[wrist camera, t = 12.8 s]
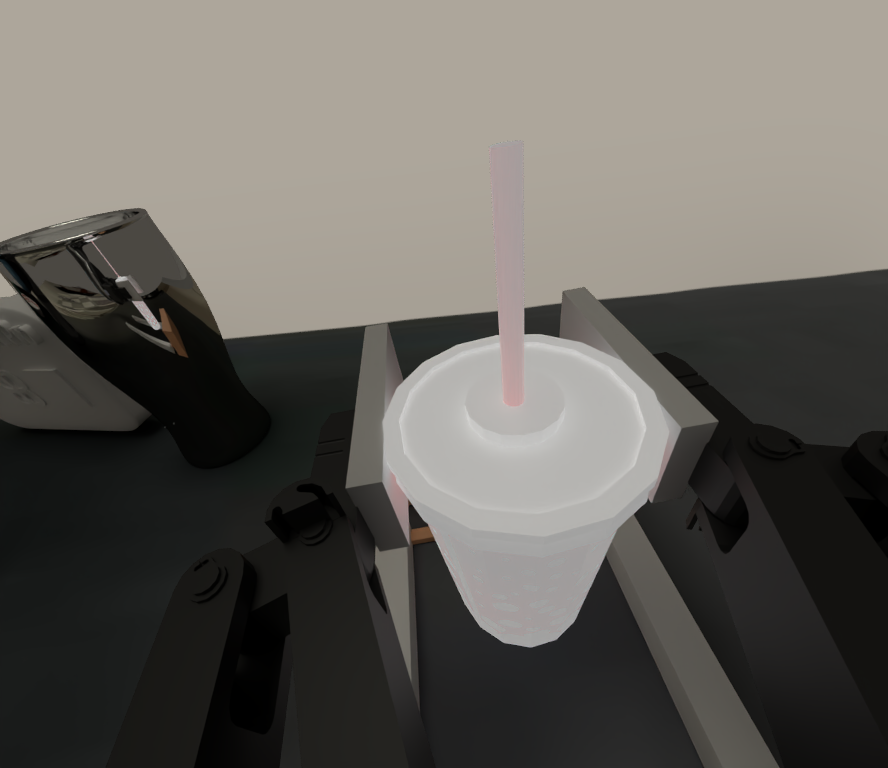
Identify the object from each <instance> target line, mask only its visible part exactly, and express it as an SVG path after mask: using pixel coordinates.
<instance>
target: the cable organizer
mask: <svg viewBox="0 0 888 768" xmlns="http://www.w3.org/2000/svg"><path fill="white" fill-rule="evenodd" d="M151 415H152V414H151V413H150V412H148V411H147V410H146V409H144V408H143V407H142V406H140V405H139V404H138V403H136V402H135V401H133V400H132V399H131V398H129V397H128V396H126V395H125V394H124V393H122V392H121V391H119V390H118V389H117V388H115V387H114V386H113V385H111V384H110V383H109V382H107V381H106V380H104V379H103V378H102V377H100V376H99V375H98V374H97V373H95V372H94V371H93V370H92V369H90V368H89V367H88V366H87V365H85V364H84V363H83V362H82V361H81V360H79V359H78V358H77V357H76V356H75V355H74V354H73V353H72V352H71V351H69V350H68V349H67V348H66V347H65V346H64V345H63V344H62V343H61V342H60V341H59V340H58V339H57V338H56V337H55V336H54V335H53V334H52V333H51V332H50V331H49V330H48V328H47V327H46V326H45V325H44V324H43V323H42V322H41V321H40V320H39V319H38V317H37V316H36V315H35V314H34V313H33V312H32V311H31V309H30V308H29V307H28V306H27V305H26V304H25V302H24V301H23V300H22V299H21V298H20V296H19V295H18V294H16V295H13V296H11V297H2V298H0V419H2V420H4V421H6V422H8V423H11V424H13V425H16V426H19V427H24V428H31V429H66V430H101V431H132V430H135V429H136V428H138V427H139V426H140V425H141V424H142V423H143V422H144V421H145V420H146V419H147V418H148V417H149V416H151Z"/></svg>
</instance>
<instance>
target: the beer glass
mask: <svg viewBox="0 0 888 768" xmlns="http://www.w3.org/2000/svg"><path fill="white" fill-rule="evenodd" d="M0 273H1V274H2V275H3V277H4V278H5V279H6V280H7V281H8V283H9V284H10V285H11V286H12V288H13V289H14V290H15V292H17V294H18V295H19V296H20V298H21V299H22V300H23V301H24V302H25V304H26V305H27V306H28V307H29V308H30V309H31V311H32V312H33V313H34V314H35V315H36V316H37V317H38V319H39V320H40V321H41V322H42V323H43V324H44V325H45V326H46V327H47V328H48V330H49V331H50V332H51V333H52V334H53V335H54V336H55V337H56V338H57V339H58V340H59V341H60V342H61V343H62V344H63V345H64V346H65V347H66V348H67V349H68V350H69V351H71V352H72V353H73V354H74V355H75V356H76V357H77V358H78V359H79V360H81V361H82V362H83V363H84V364H85V365H87V366H88V367H89V368H90V369H92V370H93V371H94V372H95V373H97V374H98V375H99V376H100V377H102V378H103V379H104V380H106V381H107V382H109V383H110V384H111V385H113V386H114V387H115V388H117V389H118V390H119V391H121V392H122V393H124V394H125V395H126V396H128V397H129V398H131V399H132V400H133V401H135V402H136V403H138V404H139V405H140V406H142V407H143V408H144V409H146V410H147V411H148V412H150V413H151V414H152V415H153V416H155V417H156V418H157V419H158V420H159V421H160V422H161V423H162V424H163V425H164V426H165V427H164V428H166V429H167V430H168V431H169V432H170V434H171V435H172V437H173V438H174V440H175V442H176V444H177V446H178V447H179V449H180V451H181V453H182V455H183V456H184V458H185V459H186V460H187V462H188V463H190V464H191V465H193V466H195V467H199V468H211V467H217V466H221V465H224V464H227V463H230V462H232V461H234V460H236V459H238V458H240V457H242V456H243V455H245V454H246V453H248V452H249V451H250V450H252V449H253V448H254V447H255V446H256V445H257V444H258V443H259V442H260V441H261V440H262V439H263V437H264V436H265V435H266V433H267V431H268V429H269V426H270V415H269V413H268V412H267V410H266V409H265V408H264V407H263V406H262V405H261V404H260V403H259V402H258V401H257V400H256V399H255V398H254V397H253V396H252V395H251V394H250V393H249V391H248V390H247V389H246V388H245V386H244V385H243V383H242V382H241V380H240V379H239V377H238V375H237V373H236V371H235V369H234V366H233V364H232V362H231V359H230V357H229V354H228V351H227V349H226V346H225V343H224V341H223V338H222V336H221V333H220V331H219V328H218V326H217V323H216V321H215V319H214V316H213V315H212V312H211V310H210V308H209V306H208V304H207V301H206V300H205V298H204V296H203V294H202V293H201V291H200V289H199V288H198V286H197V284H196V282H195V281H194V279H193V278H192V276H191V275H190V273H189V272H188V270H187V269H186V267H185V265H184V264H183V262H182V261H181V260H180V258H179V257H178V255H177V254H176V253H175V251H174V250H173V248H172V247H171V246H170V244H169V243H168V241H167V240H166V239H165V238H164V236H163V235H162V233H161V232H160V231H159V229H158V228H157V226H156V225H155V224H154V222H153V221H152V219H151V218H150V216H149V215H148V213H147V211H146V210H145V209H141V208H137V209H136V208H135V209H126V210H119V211H113V212H108V213H102V214H97V215H93V216H88V217H84V218H80V219H76V220H72V221H68V222H64V223H60V224H56V225H52V226H49V227H45V228H42V229H39V230H35V231H32V232H29V233H26V234H22V235H20V236H16V237H13V238H10V239H8V240H5V241H2V242H0Z"/></svg>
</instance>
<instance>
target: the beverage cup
mask: <svg viewBox="0 0 888 768" xmlns="http://www.w3.org/2000/svg"><path fill="white" fill-rule="evenodd" d="M489 155H490V174H491V192H492V209H493V227H494V245H495V264H496V282H497V300H498V318H499V335H496V336H492V337H488V338H483V339H479V340H475V341H471V342H467V343H463V344H458V345H456V346H454V347H452V348H450V349H448V350H446V351H444V352H442V353H440V354H439V355H437V356H435V357H433V358H431V359H429V360H427V361H425V362H423V363H422V364H421V365H420V366H419V367H418V368H417V369H416V370H415V371H414V372H413V373H412V374H411V375H410V376H409V377H408V378H407V379H406V380H404V381H403V382H402V383H401V384H400V385H399V386H398V387H397V389H396V391H395V393H394V395H393V398H392V400H391V402H390V405H389V407H388V409H387V412H386V414H385V416H384V419H383V421H382V423H383V432H384V442H385V452H386V461H387V463H388V466H389V468H390V470H391V471H392V473H393V474H394V475H395V477H396V483H397V484H398V485H399V487H400V488H401V490H402V491H403V492H404V494H405V495H406V497H407V498H408V499H409V501H410V502H411V503H412V505H413V506H414V508H415V509H416V510H417V512H418V513H419V515H420V516H421V517H422V519H423V520H424V521H425V522H427V523H428V525H429V527H430V530H431V532H432V534H433V536H434V538H435V540H436V543H437V545H438V547H439V549H440V551H441V553H442V555H443V558H444V560H445V562H446V564H447V566H448V568H449V571H450V573H451V575H452V577H453V579H454V581H455V583H456V586H457V588H458V590H459V592H460V594H461V596H462V599H463V601H464V603H465V605H466V606H467V608H468V609H469V611H470V612H471V614H472V615H473V617H474V618H475V620H476V621H477V623H478V624H479V626H480V627H481V628H483V629H484V630H486V631H487V632H489V633H490V634H492V635H493V636H494V637H496V638H497V639H499V640H500V641H502V642H503V643H508V644H514V645H520V646H526V647H534V646H537V645H540V644H544V643H547V642H550V641H553V640H556V639H557V638H558V637H559V636H560V635H561V634H562V633H563V632H564V631H565V630H566V629H567V628H568V627H569V626H570V625H571V624H572V623H573V622H574V621H575V619H576V617H577V615H578V613H579V610H580V608H581V606H582V604H583V602H584V600H585V598H586V595H587V593H588V591H589V589H590V587H591V585H592V583H593V580H594V578H595V576H596V574H597V572H598V570H599V568H600V565H601V563H602V561H603V559H604V557H605V555H606V553H607V550H608V548H609V546H610V544H611V542H612V540H613V538H614V535H615V533H616V531H617V529H618V528H619V527H620V526H621V525H622V524H623V523H624V522H625V521H626V520H627V519H628V518H629V517H631V516H632V515H633V514H634V513H635V512H636V511H637V510H638V509H639V508H640V507H641V506H642V505H644V504H645V503H646V502H647V498H648V495H649V491H650V490H651V489H652V488H653V487H654V486H655V484H656V481H657V479H658V475H659V471H660V467H661V463H662V459H663V455H664V451H665V447H666V443H667V439H668V435H669V429H668V427H667V424H666V421H665V419H664V416H663V413H662V411H661V408H660V405H659V403H658V400H657V397H656V395H655V392H654V391H653V390H652V389H651V388H650V387H649V386H648V385H647V384H646V383H645V382H644V381H643V380H642V379H641V378H640V377H639V376H637V375H636V374H635V373H634V372H633V371H632V370H631V369H630V368H629V367H628V366H627V365H626V364H625V363H624V362H623V361H621V360H619V359H617V358H614V357H612V356H610V355H608V354H606V353H604V352H601V351H599V350H597V349H595V348H593V347H591V346H589V345H586V344H584V343H582V342H577V341H572V340H567V339H562V338H556V337H551V336H546V335H541V334H527V335H524V204H523V141H509V142H503V143H497V144H494V145H491V146H489Z"/></svg>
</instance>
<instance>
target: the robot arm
mask: <svg viewBox="0 0 888 768" xmlns="http://www.w3.org/2000/svg"><path fill="white" fill-rule="evenodd" d="M559 338H562V339H567V340H572V341H577V342H582V343H584V344H586V345H589V346H591V347H593V348H595V349H597V350H599V351H601V352H604V353H606V354H608V355H610V356H612V357H614V358H617V359H619V360H621V361H623V362H624V363H625V364H626V365H627V366H628V367H629V368H630V369H631V370H632V371H633V372H634V373H635V374H636V375H637V376H639V377H640V378H641V379H642V380H643V381H644V382H645V383H646V384H647V385H648V386H649V387H650V388H651V389H652V390H653V391H654V392H655V395H656V397H657V400H658V403H659V405H660V408H661V411H662V413H663V416H664V419H665V421H666V424H667V427H668V429H669V435H668V439H667V443H666V447H665V451H664V455H663V459H662V463H661V467H660V471H659V475H658V479H657V481H656V484H655V486H654V487H653V488H652V489H651V490H650V491H649V495H648V499H649V500H650V502H651V503H656V502H662V501H667V500H673V499H679V498H682V496H683V494H684V492H685V490H686V488H687V486H688V484H689V485H690V486H691V487H692V489H693V490H694V491H695V493H696V494H697V495H698V499H697V501H696V503H695V505H694V506H693V508H692V510H691V512H690V514H689V516H688V518H687V519H686V529H691V530H692V528H693V526H694V525H695V523H696V521H697V519H698V521H699V524H700V526H699V530H700V531H702V532H703V535H704V538H705V541H706V544H707V547H708V549H709V552H710V555H711V558H712V561H713V564H714V567H715V569H716V572H717V575H718V578H719V581H720V584H721V587H722V589H723V592H724V595H725V598H726V601H727V604H728V607H729V609H730V612H731V615H732V618H733V621H734V624H735V627H736V630H737V632H738V635H739V638H740V641H741V644H742V647H743V650H744V652H745V655H746V658H747V661H748V664H749V667H750V670H751V672H752V675H753V678H754V681H755V684H756V687H757V690H758V692H759V695H760V698H761V701H762V704H763V707H764V710H765V712H766V715H767V718H768V721H769V724H770V727H771V730H772V733H773V735H774V738H775V741H776V744H777V747H778V750H779V753H780V755H781V758H782V761H783V764H784V767H785V768H888V431H871V432H867V433H864V434H861V435H860V436H859V437H858V438H857V440H856V441H855V442H854V443H853V444H852V445H851V446H850V447H839V446H825V445H811V444H804V443H803V442H802V441H801V440H800V439H799V438H797V437H795V436H794V435H792V434H790V433H789V432H787V431H784V430H782V429H779V428H776V427H773V426H769V425H762V424H753V423H752V422H751V421H750V420H749V419H748V418H747V417H745V416H744V415H743V414H742V413H741V412H740V411H739V410H738V409H737V408H736V407H734V406H733V405H732V404H731V403H730V402H729V401H728V400H727V399H726V398H725V397H723V396H722V395H721V394H720V393H719V392H718V391H717V390H716V389H715V388H714V387H712V386H709V384H708V382H707V381H706V380H705V379H704V378H703V377H702V376H698V373H697V372H696V371H695V370H694V369H693V368H692V367H691V366H689V365H688V364H687V363H686V362H685V361H683V360H681V359H679V358H677V357H675V356H673V355H671V354H669V353H667V352H664V353H659V354H653V355H652V354H651V353H650V352H649V351H648V350H647V349H646V348H645V347H644V346H643V345H642V344H641V343H640V342H639V341H638V340H637V339H636V338H635V337H634V336H633V335H632V334H631V333H630V332H629V331H628V330H627V329H626V328H625V327H624V326H623V325H622V324H621V323H620V322H619V321H618V320H617V319H616V318H615V317H614V316H613V315H612V314H611V313H610V312H609V311H608V310H607V309H606V308H605V307H604V306H603V305H602V304H601V303H600V302H599V301H598V300H597V299H596V298H595V297H594V296H593V295H592V294H591V293H590V292H589V291H588V290H587V289H586V288H585V287H583V288H577V289H572V290H567V291H563V295H562V309H561V323H560V337H559ZM402 382H403V378H402V374H401V371H400V367H399V364H398V360H397V356H396V353H395V349H394V346H393V342H392V338H391V335H390V331H389V328H388V324H387V323H385V324H379V325H374V326H368V327H366V328H365V336H364V344H363V352H362V360H361V368H360V376H359V384H358V392H357V400H356V408H355V410H349V411H344V412H338V413H333V414H331V415H330V416H329V418H328V419H327V420H326V422H325V423H324V425H323V426H322V428H321V432H320V436H319V441H318V444H319V445H318V446H317V450H316V454H315V455H316V458H315V459H314V463H313V468H312V473H311V477H310V478H308V479H304V480H300V481H297V482H295V483H293V484H291V485H289V486H288V487H286V488H284V489H283V490H282V491H281V492H280V493H279V494H278V495H277V496H276V497H275V498H274V499H273V501H272V502H271V504H270V506H269V507H268V509H267V512H266V517H265V523H266V525H267V526H268V527H269V528H270V529H271V530H272V531H273V532H274V534H275V535H276V536H277V537H278V538H276V539H274V540H273V541H271V542H269V543H267V544H265V545H262V546H260V547H258V548H256V549H254V550H252V551H250V552H248V553H246V554H244V555H242V554H240V553H239V552H237V551H235V550H233V549H231V548H226V549H218V550H215V551H213V552H210V553H208V554H206V555H204V556H203V557H202V558H200V559H199V560H198V561H196V562H195V563H193V564H192V565H191V567H190V568H189V569H188V570H187V571H186V572H185V573H184V574H183V576H182V577H181V579H180V580H179V582H178V584H177V586H176V588H175V590H174V592H173V594H172V597H171V599H170V602H169V605H168V607H167V610H166V612H165V615H164V618H163V620H162V623H161V625H160V628H159V631H158V633H157V636H156V638H155V641H154V644H153V646H152V649H151V651H150V654H149V656H148V659H147V662H146V664H145V667H144V669H143V672H142V675H141V677H140V680H139V682H138V685H137V688H136V690H135V693H134V695H133V698H132V701H131V703H130V706H129V708H128V711H127V714H126V716H125V719H124V721H123V724H122V726H121V729H120V732H119V734H118V737H117V739H116V742H115V745H114V747H113V750H112V752H111V755H110V758H109V760H108V763H107V765H106V768H279V766H280V758H281V750H282V742H283V734H284V726H285V718H286V710H287V702H288V694H289V686H290V677H291V669H292V661H293V669H294V681H295V693H296V706H297V718H298V730H299V742H300V754H301V766H302V768H436V766H435V763H434V759H433V756H432V752H431V749H430V745H429V742H428V739H427V735H426V732H425V728H424V725H423V721H422V718H421V715H420V711H419V708H418V704H417V701H416V697H415V694H414V691H413V687H412V684H411V680H410V677H409V673H408V670H407V667H406V663H405V660H404V656H403V653H402V649H401V646H400V642H399V639H398V636H397V632H396V629H395V625H394V622H393V618H392V615H391V612H390V608H389V605H388V601H387V598H386V594H385V591H384V588H383V584H382V581H381V577H380V574H379V570H378V568H377V566H376V564H375V563H374V546H375V544H376V546H377V548H378V549H379V551H380V552H381V551H387V550H392V549H398V548H404V547H409V546H410V543H409V514H408V498H407V497H406V495H405V494H404V492H403V491H402V490H401V488H400V487H399V485H398V484H397V483H396V477H395V475H394V474H393V473H392V471H391V470H390V468H389V466H388V463H387V461H386V452H385V442H384V432H383V423H382V421H383V419H384V416H385V414H386V412H387V409H388V407H389V405H390V402H391V400H392V398H393V395H394V393H395V391H396V389H397V387H398V386H399V385H400V384H401V383H402Z"/></svg>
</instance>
